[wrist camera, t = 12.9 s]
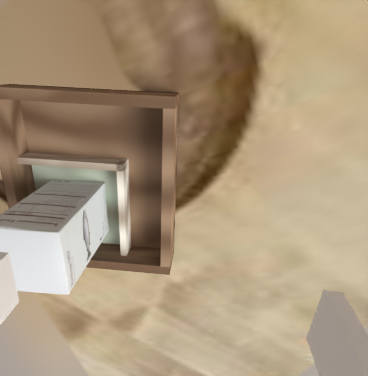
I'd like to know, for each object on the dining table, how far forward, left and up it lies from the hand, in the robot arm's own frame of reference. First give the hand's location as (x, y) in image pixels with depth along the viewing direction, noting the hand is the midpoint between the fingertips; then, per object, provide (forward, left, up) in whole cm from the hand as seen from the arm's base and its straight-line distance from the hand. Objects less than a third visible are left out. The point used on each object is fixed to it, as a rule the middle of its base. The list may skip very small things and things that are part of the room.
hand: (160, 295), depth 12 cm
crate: (+5, -12, -25) cm, 28 cm away
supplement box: (+8, -14, -24) cm, 29 cm away
